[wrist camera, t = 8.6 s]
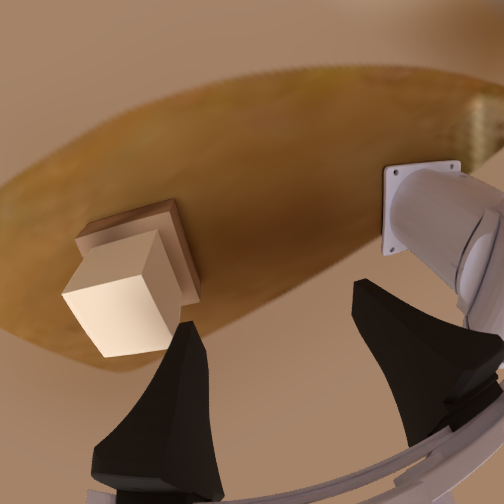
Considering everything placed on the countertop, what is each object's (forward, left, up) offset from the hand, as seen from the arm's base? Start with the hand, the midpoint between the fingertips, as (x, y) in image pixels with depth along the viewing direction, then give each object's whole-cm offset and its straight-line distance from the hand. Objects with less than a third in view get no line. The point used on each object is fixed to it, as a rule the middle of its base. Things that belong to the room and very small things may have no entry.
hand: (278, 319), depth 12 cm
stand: (+8, 0, -9) cm, 12 cm away
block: (+8, 0, -7) cm, 11 cm away
